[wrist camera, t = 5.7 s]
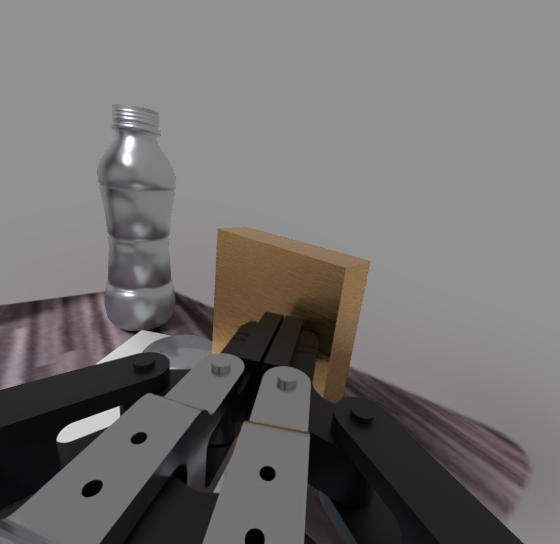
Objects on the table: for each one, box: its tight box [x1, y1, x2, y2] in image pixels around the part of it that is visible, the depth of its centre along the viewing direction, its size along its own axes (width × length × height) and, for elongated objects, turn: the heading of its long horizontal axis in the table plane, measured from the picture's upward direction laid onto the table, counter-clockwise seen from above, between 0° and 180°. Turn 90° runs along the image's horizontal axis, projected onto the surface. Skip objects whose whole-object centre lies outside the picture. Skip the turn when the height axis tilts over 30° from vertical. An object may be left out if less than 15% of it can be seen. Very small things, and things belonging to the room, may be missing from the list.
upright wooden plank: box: [142, 227, 370, 488], centre depth 17 cm, size 14×5×11 cm, turn 48°
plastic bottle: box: [97, 105, 176, 331], centre depth 29 cm, size 6×7×20 cm
